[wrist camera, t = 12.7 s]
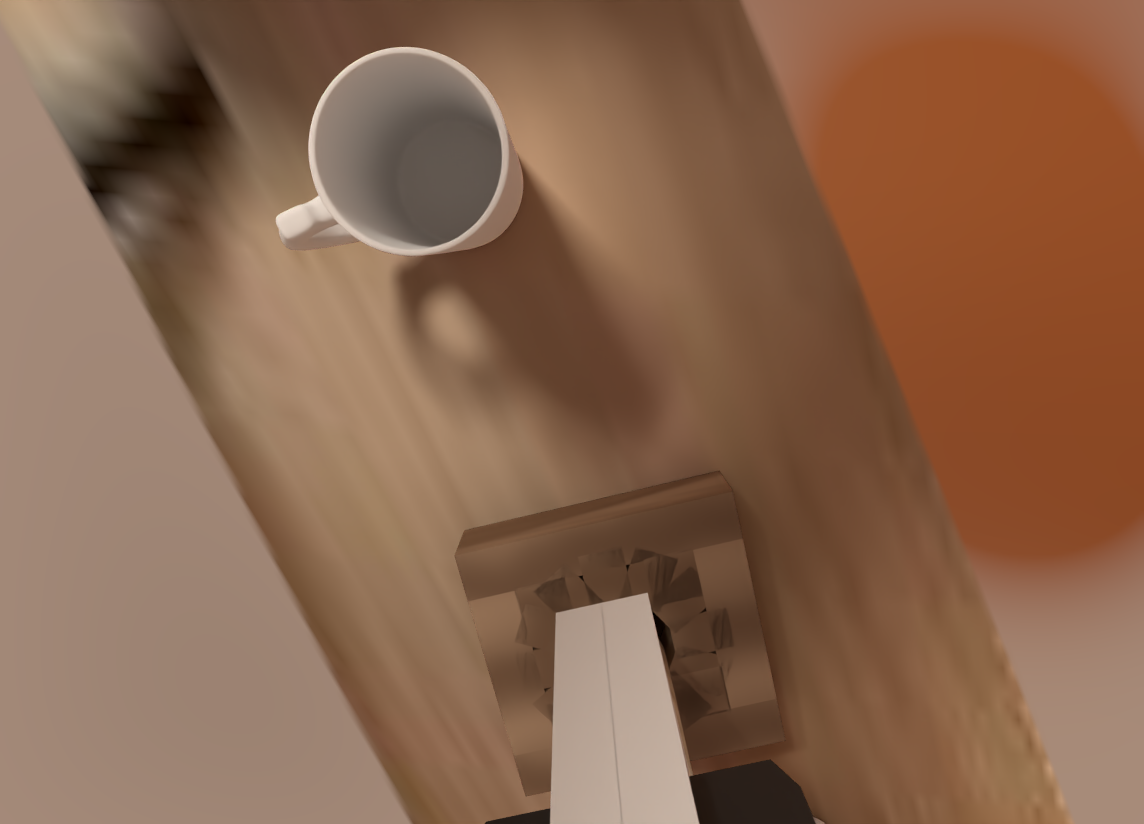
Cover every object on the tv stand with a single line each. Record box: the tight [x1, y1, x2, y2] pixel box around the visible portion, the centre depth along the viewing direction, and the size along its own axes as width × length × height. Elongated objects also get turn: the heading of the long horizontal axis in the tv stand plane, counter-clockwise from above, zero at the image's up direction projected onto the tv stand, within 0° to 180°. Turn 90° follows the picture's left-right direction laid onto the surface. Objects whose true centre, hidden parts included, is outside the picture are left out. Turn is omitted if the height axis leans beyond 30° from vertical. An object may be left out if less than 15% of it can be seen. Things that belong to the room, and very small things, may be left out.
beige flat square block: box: [455, 471, 786, 796], centre depth 40 cm, size 14×14×4 cm
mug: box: [276, 47, 523, 256], centre depth 32 cm, size 10×7×12 cm, turn 116°
